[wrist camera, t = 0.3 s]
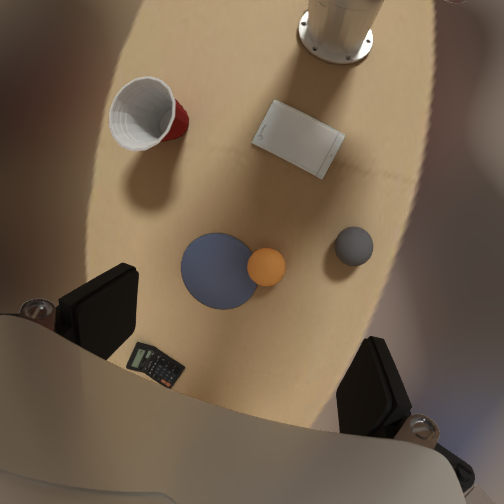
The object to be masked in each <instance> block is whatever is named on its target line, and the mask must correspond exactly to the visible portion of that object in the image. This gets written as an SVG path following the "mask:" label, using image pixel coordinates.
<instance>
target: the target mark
mask: <svg viewBox="0 0 504 504" xmlns="http://www.w3.org/2000/svg"><path fill="white" fill-rule="evenodd" d="M251 255H252V253H251V251H250V250H249V249H248V247H247V246H246V245H245V244H243V243H242V242H241V241H239V240H238V239H236V238H234V237H232V236H229V235H226V234H221V233H211V234H206V235H203V236H201V237H199V238H197V239H196V240H194V241H193V242H192V243H191V244H190V245H189V246H188V247H187V249H186V251H185V252H184V255H183V257H182V262H181V273H182V278H183V281H184V284H185V286H186V287H187V289H188V291H189V292H190V293H191V294H192V296H193V297H194V298H196V299H197V300H198V301H199V302H201V303H202V304H204V305H206V306H209V307H212V308H216V309H231V308H235V307H238V306H240V305H242V304H243V303H245V302H246V301H247V300H248V299H249V298H250V297H251V296H252V294H253V293H254V291H255V289H256V286H257V283H255V282H254V281H253V280H252V279H251V278H250V276H249V274H248V270H247V264H248V260H249V258H250V256H251Z"/></svg>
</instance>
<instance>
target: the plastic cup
mask: <svg viewBox="0 0 504 504" xmlns="http://www.w3.org/2000/svg"><path fill="white" fill-rule="evenodd" d="M188 125H189V118H188V115H187V112H186V111H185V110H184V109H183V107H182V106H181V105H180V104H179V102H178V101H177V100H176V99H175V98H174V96H173V93H172V90H171V88H170V87H169V86H168V85H166V84H165V83H164V82H163V81H162V80H161V79H158V78H154V77H150V76H146V77H140V78H135V79H134V80H132V81H131V82H129V83H127V84H126V85H124V86H123V87H122V89H121V90H120V91H119V92H118V94H117V95H116V96H115V97H114V100H113V103H112V105H111V108H110V111H109V127H110V130H111V133H112V136H113V138H114V139H115V140H116V141H117V143H118V144H119V145H120V146H121V147H123V148H126V149H128V150H130V151H143V150H147V149H149V148H151V147H153V146H154V145H156V144H158V143H159V142H163V141H168V140H172V139H176V138H178V137H180V136H182V135H183V134H184V133H185V131H186V130H187V127H188Z"/></svg>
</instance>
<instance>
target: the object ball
mask: <svg viewBox="0 0 504 504" xmlns="http://www.w3.org/2000/svg"><path fill="white" fill-rule="evenodd" d="M247 270H248V274H249V276H250V278H251V279H252V280H253V281H254V282H255V283H257V284H258V285H261V286H272V285H274V284H276V283H278V282H279V281H280V280H281V279H282V278H283V276H284V274H285V270H286V264H285V260H284V258H283V256H282V255H281V254H280V253H279V252H278V251H276V250H274V249H272V248H262V249H259V250H257V251H255V252H254V253H253V254H252V255H251V256H250V258H249V260H248V264H247Z"/></svg>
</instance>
